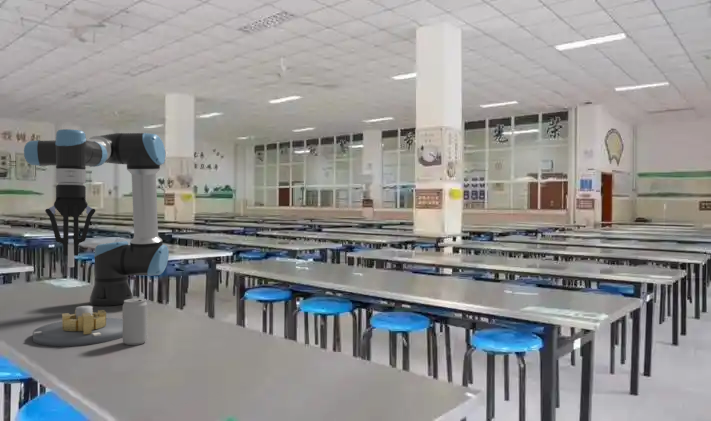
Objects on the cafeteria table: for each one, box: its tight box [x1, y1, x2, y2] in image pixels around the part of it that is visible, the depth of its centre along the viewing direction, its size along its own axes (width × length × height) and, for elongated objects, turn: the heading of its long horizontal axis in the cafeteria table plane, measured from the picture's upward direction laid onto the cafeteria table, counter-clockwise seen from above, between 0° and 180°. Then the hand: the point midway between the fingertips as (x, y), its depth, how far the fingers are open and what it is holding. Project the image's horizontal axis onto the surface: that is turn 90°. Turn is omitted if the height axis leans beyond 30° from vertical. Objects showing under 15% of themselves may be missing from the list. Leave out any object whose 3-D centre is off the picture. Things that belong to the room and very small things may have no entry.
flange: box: [32, 305, 123, 347], centre depth 159 cm, size 26×26×8 cm
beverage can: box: [122, 298, 148, 346], centre depth 150 cm, size 6×6×12 cm
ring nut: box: [61, 309, 107, 335], centre depth 157 cm, size 16×11×5 cm
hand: (71, 266), depth 154 cm, fingers closed
